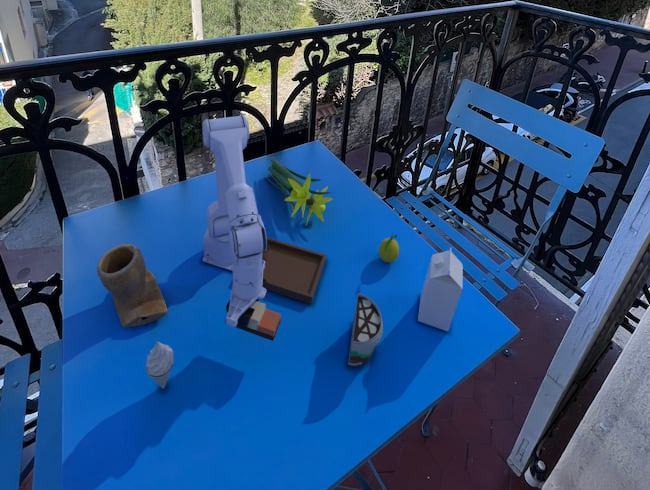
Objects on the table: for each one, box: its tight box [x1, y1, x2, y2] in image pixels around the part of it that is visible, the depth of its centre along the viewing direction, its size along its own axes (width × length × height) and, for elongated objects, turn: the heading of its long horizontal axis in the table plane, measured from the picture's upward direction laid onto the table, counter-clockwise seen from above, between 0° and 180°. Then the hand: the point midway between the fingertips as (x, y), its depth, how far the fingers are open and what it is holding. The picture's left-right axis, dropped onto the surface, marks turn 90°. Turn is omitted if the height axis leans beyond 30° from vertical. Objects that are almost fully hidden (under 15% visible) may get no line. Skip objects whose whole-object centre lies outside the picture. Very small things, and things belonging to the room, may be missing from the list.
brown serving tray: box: [262, 236, 327, 305], centre depth 107 cm, size 20×14×2 cm
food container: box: [347, 292, 384, 368], centre depth 88 cm, size 12×6×10 cm, turn 168°
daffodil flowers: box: [264, 158, 333, 227], centre depth 127 cm, size 17×15×35 cm
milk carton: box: [417, 247, 464, 332], centre depth 95 cm, size 7×7×19 cm
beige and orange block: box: [224, 301, 282, 342], centre depth 86 cm, size 11×4×4 cm, turn 73°
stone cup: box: [96, 243, 168, 328], centre depth 92 cm, size 15×12×15 cm
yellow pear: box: [378, 232, 400, 263], centre depth 110 cm, size 7×6×10 cm
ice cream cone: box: [145, 340, 175, 390], centre depth 77 cm, size 5×5×15 cm
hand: (246, 316), depth 86 cm, fingers closed on beige and orange block, 4 cm apart
